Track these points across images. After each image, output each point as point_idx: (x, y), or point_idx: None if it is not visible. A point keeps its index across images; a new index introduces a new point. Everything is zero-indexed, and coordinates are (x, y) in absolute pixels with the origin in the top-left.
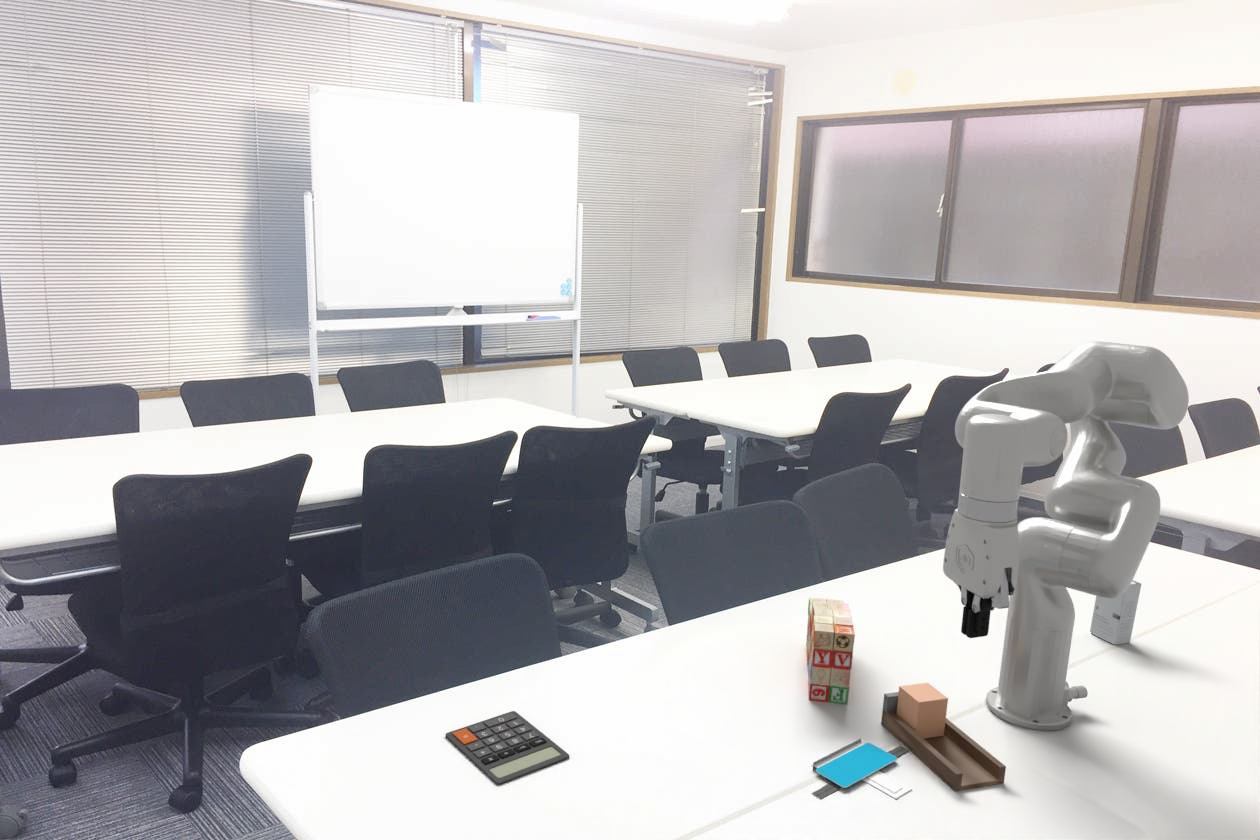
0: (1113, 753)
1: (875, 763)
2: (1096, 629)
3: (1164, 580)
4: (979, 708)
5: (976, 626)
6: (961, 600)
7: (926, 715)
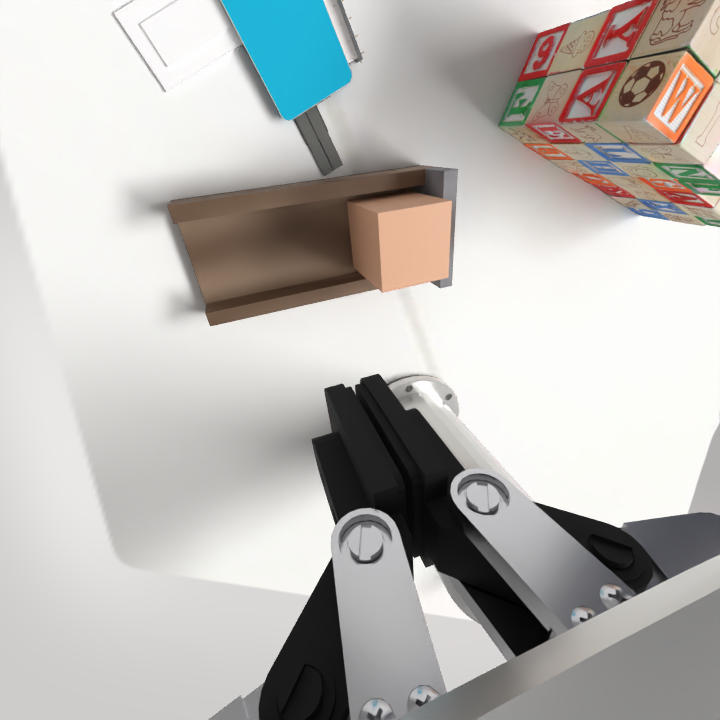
0: (294, 483)
1: (264, 40)
2: None
3: None
4: (425, 363)
5: (329, 454)
6: (501, 480)
7: (366, 232)
